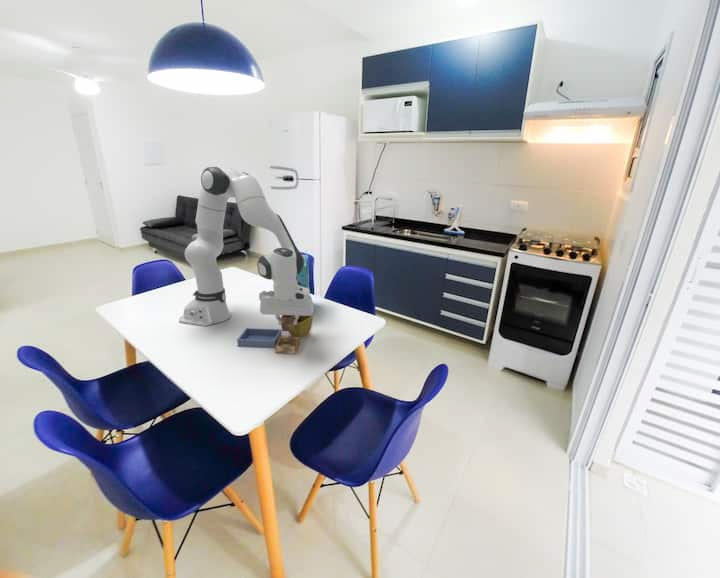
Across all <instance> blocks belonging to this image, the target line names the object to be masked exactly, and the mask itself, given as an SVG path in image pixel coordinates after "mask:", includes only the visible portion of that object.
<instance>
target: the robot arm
mask: <svg viewBox="0 0 720 578" xmlns="http://www.w3.org/2000/svg"><path fill="white" fill-rule="evenodd" d="M200 183H201V186H202V187H201V190H200V193H199V196H198V199H197V201H198V202H197V208H196V214H195V215H196V216H195V224H196V228H197V237H196V239H194V240H193V241H191V242H190V243H189V244H188V245H187V247H186V248H185V250H184V258H185V260H186V262H188V264H189V265H190V266H191V268H192V270H193V273H194V276H195V277H194V278H195V282H196V287H197V290H195V291H194V292H193V294H192V297H194V299H192V300H191V301H190V302H189V303H187V304H186V305H185V306H184V307H183V314H182V315H180V317H179V319H178V322H179V323H183V324H189V325H196V326H202V327H208V326H212V325H214V324H219V323H222V322H225V321H227V320H229V319H230V317H231V313H230V310H229V308H228V304H227V301H226V300H227V297H226V296H227V295H226V289H225V288H224V281H223V279H224V278H223V273H222V271H221V270H220V268H219V266H218V262H217V257H219V256H220V255H221V253H222V252H223V249H224V247H225V246H224V223H225V218H226V210H227V204H228V200H229V199H230V198H234V199H235V201H236V205H237V208H238V212H239V215H240V216H241V218H242V220H243V221H244V222H245V223H247V224H248V225H251V226H252V227H256V228H261V229H264V230H267V231H269V232H270V233H272V234H273V235H275V237H276V238H277V242H278V243H279V245H280V247H278V248H275V249H273V251H272V252H271V253H266V254H263V255H261V256H260V257H259V258H258V260H257V264H256V266H257V272H258V274H259V275H260V276H261V277H262V278H264V279H266V280H272V281H273V286H272V287H273V290H262V291H261V292H259V294H258V297H259V298H258V299H259V301H260V303H259V312H260V314H261V315H268V316H273V315H274V317H275V319H276V320H277V322H278V325H279V326H282V325H281V316H282V315H295V318H296V319H295V320H293V321H292V323H293V324H292V325H297V319H298V318H299V316H313V314H314V310H315V309H314V303H313V302H314V301H313V298H312V296H311V295H310V293H311V290H310V288H309V289H308V288H305V287H302V286H299V285H297V280H296V274H299V273H300V272H301V271H302V269H303V267H304V258H303V256H302V255H303V254H302V252H300V250H299V249H298V247H297V246H296V244H295V242H294V240H293V238H292V236H291V234H290V232H289V230H288V228H287V226H286V225H285V222H284V221H283V219H282V217H281V216H280V215H279V214H278V213H276V212H275V211H274V210H273V209H272V208H271V207H270V205H269V204H268V202H267V200H266V197H265V194H264V191H263V188H262V187H261V185H260V183H259V182H258V180H257V178H255V177H254V176H252V175H250V174H249V173H247V172H244V171H239V170H237V169H232V168H225V167H224V168H223V167H217V166H209V167H208V166H207V167H206V168H205V169H204V170H203V171H202V174H201V176H200Z"/></svg>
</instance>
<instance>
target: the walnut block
mask: <svg viewBox="0 0 720 578" xmlns="http://www.w3.org/2000/svg"><path fill="white" fill-rule="evenodd" d="M280 318H281V325H280V326H281V332H288V333H289V332H292V331H293V329H294V325H292V324H293V323H292V321H293V320H294V315H280Z"/></svg>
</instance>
